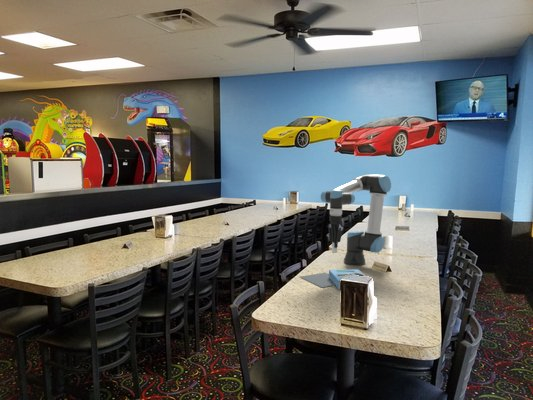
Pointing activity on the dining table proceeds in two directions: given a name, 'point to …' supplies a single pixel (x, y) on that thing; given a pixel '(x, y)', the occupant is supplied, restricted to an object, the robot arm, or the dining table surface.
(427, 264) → the dining table surface
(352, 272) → the gum box
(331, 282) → the mat
